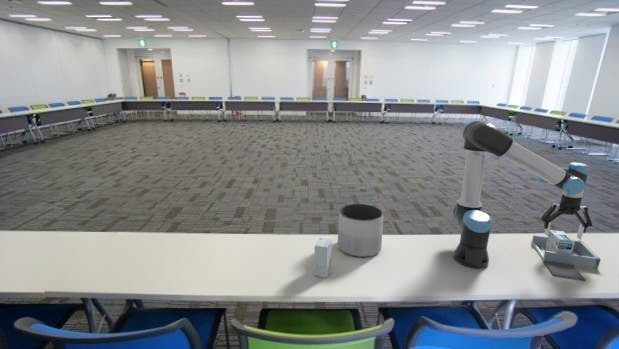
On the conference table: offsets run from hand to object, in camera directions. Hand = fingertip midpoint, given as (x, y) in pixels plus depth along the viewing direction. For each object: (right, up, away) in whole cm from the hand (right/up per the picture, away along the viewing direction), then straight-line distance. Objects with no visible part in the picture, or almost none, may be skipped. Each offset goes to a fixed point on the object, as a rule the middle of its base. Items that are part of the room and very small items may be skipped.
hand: (562, 236), depth 160 cm
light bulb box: (0, -10, +3) cm, 10 cm away
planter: (-98, -7, +8) cm, 99 cm away
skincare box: (-118, -14, -13) cm, 119 cm away
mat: (-8, -14, -11) cm, 19 cm away
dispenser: (+1, -10, +2) cm, 10 cm away
